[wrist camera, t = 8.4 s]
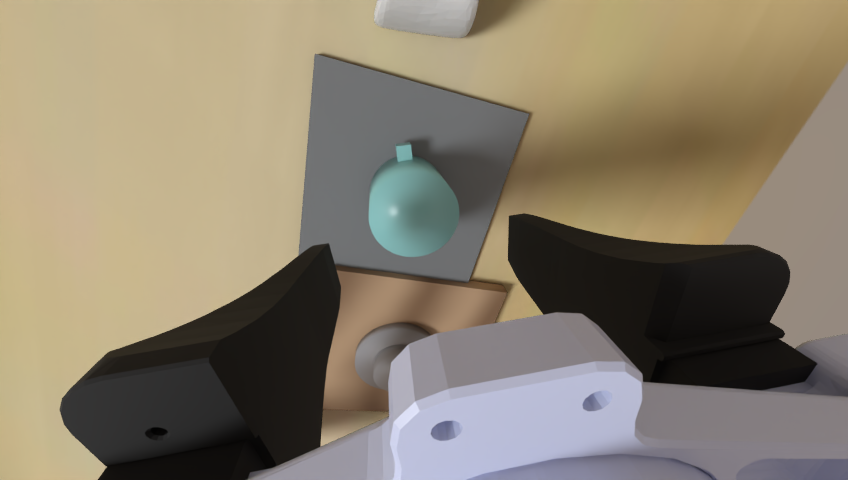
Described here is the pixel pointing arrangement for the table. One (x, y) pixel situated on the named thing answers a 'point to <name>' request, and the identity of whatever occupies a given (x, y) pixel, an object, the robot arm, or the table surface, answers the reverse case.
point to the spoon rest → (427, 16)
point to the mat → (375, 144)
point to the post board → (394, 328)
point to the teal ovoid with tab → (411, 205)
